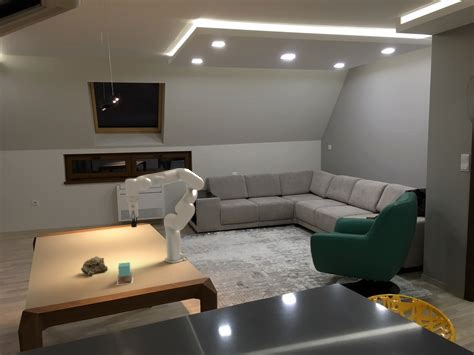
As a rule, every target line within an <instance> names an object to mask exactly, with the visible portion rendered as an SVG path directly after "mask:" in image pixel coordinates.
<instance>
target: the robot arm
mask: <svg viewBox="0 0 474 355" xmlns="http://www.w3.org/2000/svg"><path fill="white" fill-rule="evenodd" d="M178 182H184V184H185V192H184V195H183V196H182V198H181V199H180V200H179V201H178V202H177V204H176V205H175V207H174V210H175V211H174V212H175V213H168V214H167V215H165V217H164V219H163V225H164V229H165V230H164V231H165V243H166V257H165V258H164V261H165V263H169V264H175V263H181V262H183V261H184V259H185V257H188V258H189V253H187V252H185V253H183V252H182V243H181V242H182V241H181V230H183V229H184V228H185V227H186V225H188V223H189V221H190V220H192V218H193V216H194V214H195V213H196V212H195V211H196V207H195V205H194V203H195V202H196V200H197V198H198V191H200V190H203V188H204V186H205V182H204V180H203V178H202V177H199V176H198V175H197V174H195V173H194V172H192V171H191V170H189V169H188V168H181V167H180V168H179V167H178V168H173V169H170V170H165V171H160V172H155V173H149V174H143V175H139V176H137V177H135V178H126V179H125V181H124V183H125V184H124V186H125V199H126V202H127V203H128V211H129V217H130V224H131V225H130V226H131V228H137V226H138V217H139V204H138V202H139V201H140V198H139V197H140V196H139V195H140V194H139V190H143V191H145V190H149V189H150V188H151V186H157V185H158V186H165V185H168V184H172V183H173V184H174V183H178Z"/></svg>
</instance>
